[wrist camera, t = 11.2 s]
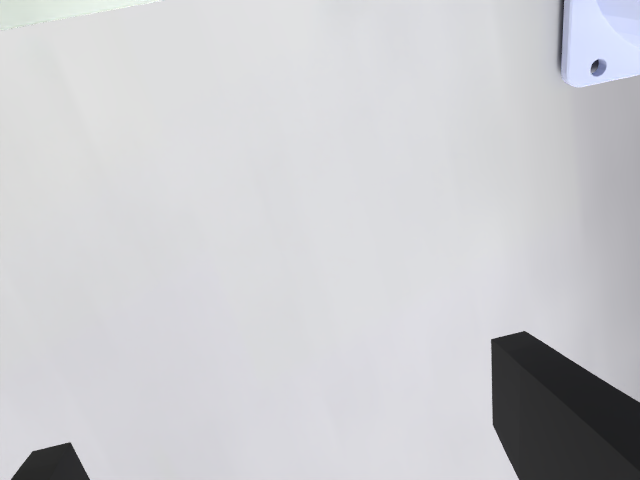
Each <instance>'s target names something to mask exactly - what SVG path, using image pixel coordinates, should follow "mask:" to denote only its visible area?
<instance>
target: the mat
mask: <svg viewBox="0 0 640 480" xmlns="http://www.w3.org/2000/svg"><path fill="white" fill-rule="evenodd" d="M158 1H163V0H0V31H2V30H7V29H12V28H18V27H23V26H29V25H34V24H39V23H45V22H50V21H56V20H61V19H66V18H72V17H77V16H83V15H88V14H93V13H99V12H104V11H109V10H115V9H120V8H126V7H131V6H136V5H142V4H147V3H153V2H158Z"/></svg>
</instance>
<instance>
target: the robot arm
mask: <svg viewBox="0 0 640 480" xmlns="http://www.w3.org/2000/svg"><path fill="white" fill-rule="evenodd" d="M597 59H598V61H599V65H598V68H597V70H596V71H595V72H594V73H592V74H591V71H590V69H591V65H592V64H593V62H594V61H595V60H597ZM561 74H562V79H563V80H564V82H565V83H567V84H569V85H571V86H574V87H584V86H589V85H593V84H598V83H603V82H608V81H612V80H617V79H622V78H627V77H631V76H636V75H640V0H564V20H563V43H562V65H561ZM491 349H492V407H493V426H494V428H495V430H496V433H497V435H498V437H499V439H500V441H501V443H502V445H503V448H504V450H505V452H506V454H507V456H508V458H509V460H510V462H511V464H512V466H513V468H514V470H515V472H516V474H517V476H518V478H519V480H640V402H638V401H636V400H635V399H633V398H631V397H630V396H628V395H626V394H625V393H623V392H621V391H620V390H618V389H616V388H615V387H613V386H611V385H610V384H608V383H607V382H605V381H603V380H602V379H600V378H598V377H597V376H595V375H594V374H592V373H590V372H589V371H587V370H586V369H584V368H582V367H581V366H579V365H578V364H576V363H575V362H573V361H571V360H570V359H568V358H567V357H565V356H564V355H562V354H560V353H559V352H557V351H556V350H554V349H553V348H551V347H549V346H548V345H546V344H545V343H543V342H542V341H540V340H538V339H537V338H535V337H534V336H532V335H530V334H529V333H527V332H525V331H523V332H519V333H515V334H511V335H507V336H503V337H499V338H495V339H491ZM11 480H90V479H89V477H88V475H87V473H86V471H85V470H84V468H83V466H82V464H81V462H80V460H79V458H78V456H77V454H76V452H75V450H74V448H73V446H72V444H71V443H70V442H69V443H65V444H61V445H57V446H53V447H49V448H45V449H41V450H37V451H33V452H32V453H31V454H30V455H29V457H28V458H27V459H26V461H25V462H24V463H23V464H22V466H21V467H20V468H19V470H18V471H17V472H16V474H15V475H14V476H13V478H12V479H11Z"/></svg>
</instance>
